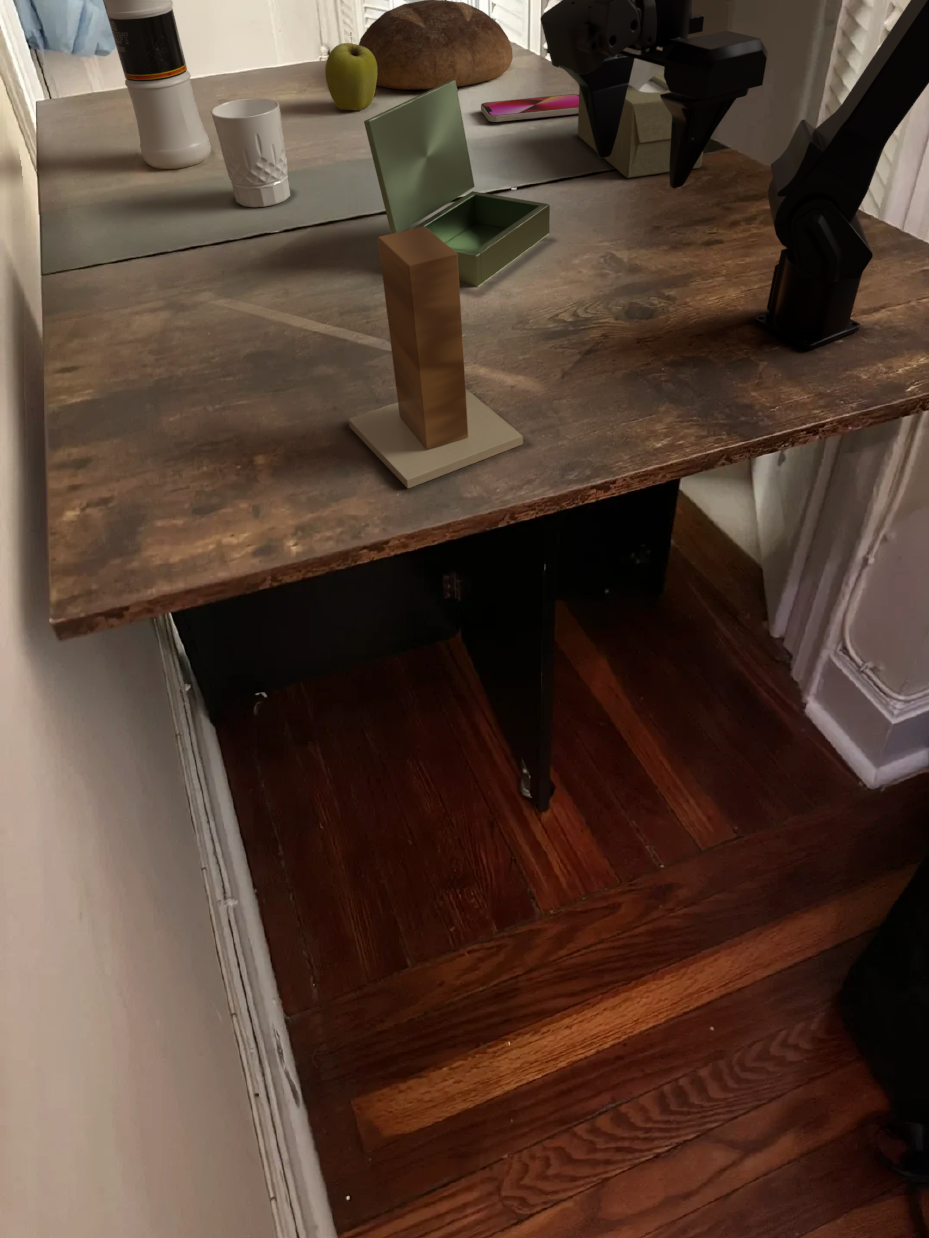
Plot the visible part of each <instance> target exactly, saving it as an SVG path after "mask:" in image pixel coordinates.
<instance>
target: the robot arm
mask: <svg viewBox="0 0 929 1238" xmlns="http://www.w3.org/2000/svg"><path fill="white" fill-rule="evenodd" d="M693 8H694V0H560V1H559V2H558V3H556V4H555V5H553V6H552V7H551V8H549V9H547V10H546V11H545V12H544V13H542V15H541V16H540V24H541V27H542V30H543V31H542V32H543V35H544V38H545V42H546V54H548V55H549V58H550V62H551V65H552V66H553V67H554V68H560V69H562V70H564V71H565V72H566V73H567V74H568V75H569V76H570V77H571V78H572V79H573V80H574V81H575V82H576V83H577V84H578V87H579V86H580V89H581V93H582V96H583V99H584V102H585V106H586V110H587V113H588V118H589V122H590V126H591V130H592V134H593V138H594V142H595V146H596V150H597V152H596V154H597V157H598V158H600V159H604V158H605V157H609V156H610V155H611V153H612V150H613V146H614V143H615V140H616V136H617V133H618V128H619V124H620V119H621V115H622V111H623V106H624V102H625V98H626V93H627V89H628V85H629V81H630V76H631V72H632V67H633V63H634V59H635V58H636V59H639V60H643V61H646V62H649V63H653V64H656V65H660V66H663V67H664V79H665V81H666V84H667V86H668V89H669V91H670V92H668V93H664V94H660V97H661V99H662V101H663V102H664V104H665V105H666V107H667V108H668V110H669V111H670V113H671V115H672V127H671V145H670V162H669V173H668V174H669V188H672V189H678V188H680V187H683V186H684V185H685V184H686V181H687V180H688V178H689V176H690V175H691V173H692V171H693V170H694V169H693V167H694V166H695V164H696V162H697V160H698V159H699V157H700V155H701V153H702V152H703V153H704V150H705V148H706V146H707V144H708V143H709V141H710V140H711V137H712V136H713V134H714V133H715V131H716V129H717V128H718V127H719V124H721V122H722V120H723V119H724V118H725V116H726V115H727V113H728V112H729V110H730V108H731V107H732V106H733V104H734V103H735V101H736V100H737V99H740V98H743V97H746V96H747V95H748V93H749V89H753V88H757V87H761V86H763V84H764V79H765V73H766V65H767V59H768V50H767V48H766V45H764V42H763V41H762V39H761V38H760V37H756V36H753V35H752V36H751V35H748V34H743V33H739V32H734V31H731V30H726V29H725V30H721V31H716V32H712V33H707V34H703V35H698V36H694V37H689V35H692V34H699V33H703V30H704V21H705V14H702V13H697V12H693V10H694V9H693ZM657 47H659V48H663V49H662V51H661V50H658V49H657ZM928 85H929V0H909V2H908V3H907V5H906V7H905V8H904V10H903V11H902V12H901V14H900V16H899V17H898V19H897V20H896V21H895V23H894V25H893V26H892V28H891V29H890V31H889V32H888V34H887V35H886V36H885V39H884V40H883V41H882V43H881V44H880V46H879V48H878V49H877V51H876V52H875V53H874V55H873V56H872V58H871V59H870V61H869V62H868V64H867V65H866V67H865V69H864V70H863V71H862V72H861V75H860V76H859V78H858V79H857V81H856V82H855V84H854V85H853V87H852V88H851V90H850V91H849V93H848V94H847V96H846V97H845V99H844V100H843V102H842V103H841V104H840V106H839V107H838V108H837V109H836V110H835V112H833V113H832V114H831V115H830V116H828V117H827V118H826V119H825V120H824V121H823V122H821V123H820V124H819V125H818V126H817V127H816V128H815V127H814V126H812V124H810V123H809V122H808V121H807V120H806V119H801V120H800V121H799V124H798V125H797V127H796V128H795V130H794V132H793V134H792V137H791V139H790V141H789V143H788V145H787V147H786V149H785V150H784V152H783V153H782V154H781V155H780V156H779V157H778V158H777V159H776V160H775V161H773V162H772V163H771V164H770V171H771V174H772V178H771V181H770V183H769V185H768V191H767V197H768V203H769V209H770V214H771V218H772V223H773V228H774V232H775V236H776V238H777V239H778V241H779V243H780V244H781V245H782V246H784V247H785V248H783V249H781V250H780V254H779V260H778V263H777V264H776V265H774V269H773V275H772V281H771V284H770V289H769V295H768V300H767V304H766V310H767V311H768V312H765V313H761V314H760V315H758V316H756V317H755V319H754V324H755V325H757V326H759V327H761V328H763V329H764V330H766V331H768V332H770V333H771V334H773V335H776V336H777V337H780V338H782V339H784V340H785V341H787V342H789V343H791V344H793V345H795V346H797V347H799V348H801V349H803V350H813V349H815V348H818V347H820V346H822V345H825V344H827V343H830V342H833V341H835V340H838V339H840V338H843V337H846V336H848V335H850V334H854V333H856V332H858V331H859V330H860V328H861V323H860V322H858V321H855V320H853V319H852V313H853V310H854V305H855V302H856V298H857V294H858V291H859V287H860V283H861V280H862V276H863V272H864V271H865V269H866V268H867V266H868V265H869V264H870V262H871V261H872V259H873V257H874V254H873V252H872V249H871V246H870V243H869V241H868V238H867V236H866V234H865V231H864V229H863V226H862V223H861V221H860V218H859V216H858V211H859V209H860V207H861V206H862V203H863V201H864V200H865V197H866V196H867V194H868V192H869V189H870V186H871V184H872V181H873V178H874V175H875V172H876V170H877V167H878V165H879V162H880V160H881V156H882V154H883V151H884V149H885V146H886V145H887V143H888V141H889V140H890V138H891V137H892V136H893V134H894V133H895V131H896V130H897V129H898V127H899V125H900V124H901V123H902V121H903V120H904V119H905V117H906V115H907V114H908V113H909V112H910V111H911V109H912V108H913V106H914V105H915V104H916V102H917V101H918V99H919V98H920V96H921V95H922V94H923V92H924V91H925V89H926V88H927V87H928Z"/></svg>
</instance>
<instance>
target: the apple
mask: <svg viewBox="0 0 929 1238" xmlns="http://www.w3.org/2000/svg"><path fill="white" fill-rule="evenodd" d="M350 35H352V32H350ZM352 39H353V38H350V42H343V43H339V44H337V45H336V46H334V47H333V48H332V50H331V51H330V52H329V53H328V56H327V59H326V63H325V70H324V71H325V80H326V84H327V88H328V91H329V94H330V95H329V96H330V97H331V99H332V101H333V103H334V104H335V106H336V107H337V108H338V109H340V110H342V111H346V110H347V111H348V110H349V111H361V110H363V109H364V108H367V107H369V106H370V105H371V104H372V102H373V101H374V97H375V93H376V88H377V85H376V82H377V63H376V59H375V57H374V55H373V54H372V52H371V51H370V50H369V49H367V48H365V47H363V46H360V45H359V44H357V43H353V40H352Z"/></svg>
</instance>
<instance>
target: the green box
mask: <svg viewBox="0 0 929 1238" xmlns="http://www.w3.org/2000/svg"><path fill="white" fill-rule="evenodd" d="M550 207H551V205H550V203H545V202H540V201H534V200H527V199H521V198H516V197H509V196H503V195H497V194H492V193H486V192H479V191H474V190H472V191H470V192H469V193H467V194H466V195H464V196H462V197H461V198H459V199H457V200H456V201H453V203H451V204H450V205H447V206H446V207H445V208H443V209H441V210H440V211H438V212H437V213H435V214H433V215H431V216H430V217H429V218H427V219H425V220H423V221H421V223H419V224H417V225H415V226H414V227H413V228H411V229H415V228H419V227H423V226H425V227H426V228H427V229H428V230H430V231H431V232H432V233H433V234H434V235H436V236H437V237H438V238H439V239H441V240H442V241H443V242H444V243H445V244H447V245H448V246H449V247H450V248H451V249H453V250H454V251H455V252H456V253H457V255H458V272H459V284H462V285H466V286H470V287H475V288H479V287H480V286H481V285H483V284H484V283H485V282H487V281H488V280H489V279H491V278H492V277H493V276H495V275H496V274H497V273H499V272H500V271H501V270H503V269H504V268H505V267H507V266H508V265H510V264H511V263H513V262H514V261H515V260H516V259H518V258H519V257H520V256H522V255H523V254H524V253H526V252H527V251H529V249H531V248H533V247H534V246H535V245H537V244H538V243H539V242H541V241H542V240H543V239H544V238H546V237H547V236H549V235H550V218H551V217H550V216H551V215H550V213H551V211H550V210H551V208H550Z"/></svg>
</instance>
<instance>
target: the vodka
mask: <svg viewBox="0 0 929 1238" xmlns="http://www.w3.org/2000/svg"><path fill="white" fill-rule="evenodd" d="M102 2H103V5H104V8H105V9H104V10H105V14H106V16H107V19H108V22H109V23H108V24H109V27H110V30H111V33H112V37H113V40H114V44H115V47H116V51H117V55H118V58H119V61H120V64H121V68H122V72H123V75H124V85H125V86H126V88H127V91H128V94H129V97H130V100H131V103H132V107H133V110H134V114H135V120H136V123H137V129H138V135H139V141H140V142H139V148H140V152H141V156H142V158H143V160H144V162H145V163H146V165H149V166H150V167H153V168H155V169H159V170H178V169H184V168H185V169H186V168H190V167H192V166H193V167H194V166H195V165H196V166H197V165H199V164H200V163H203V162H204V161H206V160H207V158H208V157H209V156H210V155H211V151H212V146H211V142H210V141H211V140H210V138H209V135H208V133H207V132H206V130H205V127H204V125H203V121H202V119H201V116H200V113H199V109H198V106H197V103H196V99H195V95H194V91H193V86H192V80H191V76H192V75H191V73H190V72H189V70H188V67H187V62H186V57H185V54H184V50H183V46H182V42H181V38H180V35H179V34H180V33H179V30H178V25H177V22H176V17H175V12H174V9H173V7H174V2H173V0H102Z"/></svg>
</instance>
